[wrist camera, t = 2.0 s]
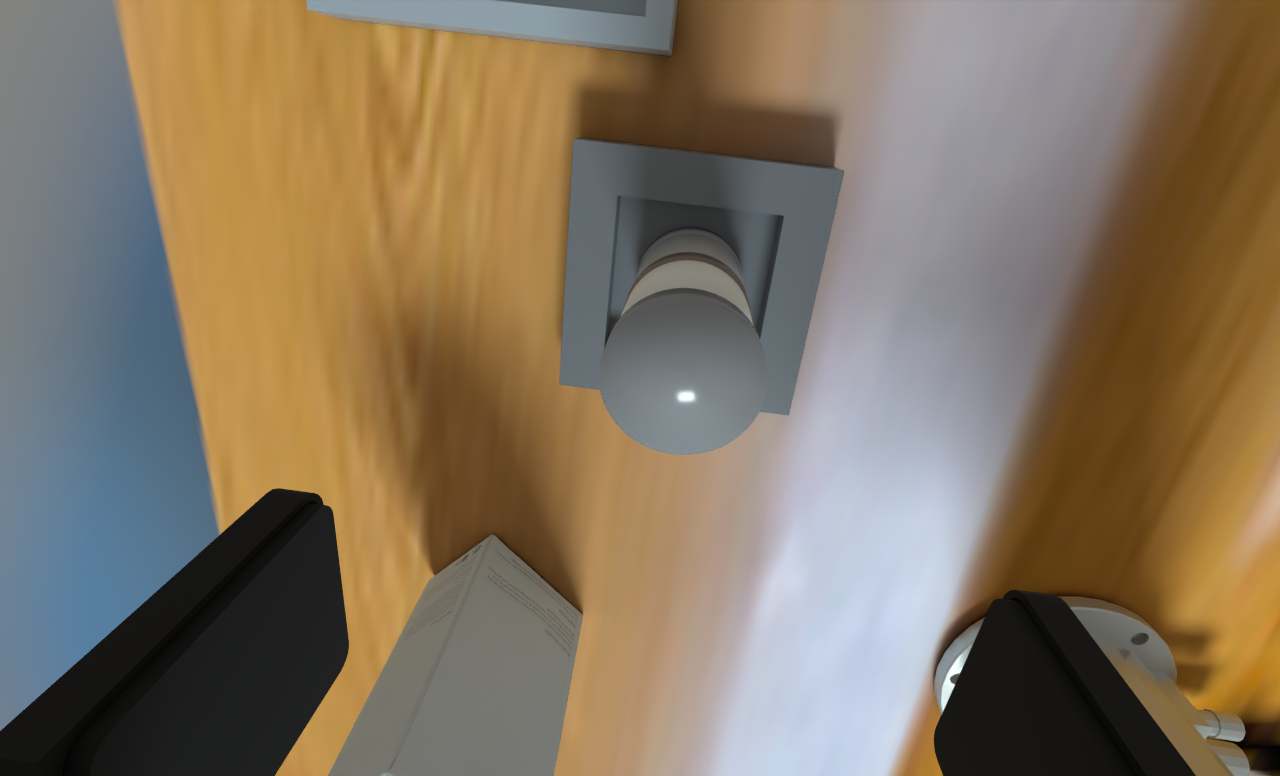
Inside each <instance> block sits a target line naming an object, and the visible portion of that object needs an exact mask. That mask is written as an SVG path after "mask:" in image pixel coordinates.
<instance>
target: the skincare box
mask: <svg viewBox="0 0 1280 776" xmlns="http://www.w3.org/2000/svg"><path fill="white" fill-rule="evenodd" d="M582 619H583V615H582V614H581V613H580V612H579V611H578V610H577V609H576V608H575V607H573V606H572V605H571V604H570V603H569V602H568V601H567V600H566V599H564V598H563V597H562V596H561V595H560V594H559V593H558V592H557V591H555V590H554V589H553V588H552V587H551V586H550V585H549V584H548V583H547V582H546V581H544V580H543V579H542V578H541V577H540V576H539V575H538V574H537V573H536V572H535V571H533V570H532V569H531V568H530V567H529V566H528V565H527V564H526V563H525V562H523V561H522V560H521V559H520V558H519V557H518V556H517V555H515V554H514V553H513V552H512V551H511V550H510V549H509V548H508V547H506V546H505V545H504V544H503V543H502V542H501V541H500V540H499V539H498V538H497V537H496V536H495V535H490V536H489V537H488V538H486V539H485V540H483V541H482V542H480V543H479V544H478V545H477V546H475V547H474V548H472V549H471V550H470V551H468V552H467V553H466V554H464V555H463V556H461V557H460V558H458V559H457V560H455V561H454V562H453V563H451V564H450V565H449V566H447V567H446V568H444V569H443V570H442V571H440V572H439V573H437V574H436V575H435V576H434V577H433V578H432V579H430V580H429V582H428V583H427V585H426V587H425V589H424V591H423V593H422V595H421V597H420V598H419V600H418V602H417V604H416V606H415V608H414V610H413V612H412V614H411V616H410V618H409V620H408V622H407V623H406V625H405V627H404V629H403V631H402V633H401V635H400V637H399V639H398V641H397V643H396V645H395V647H394V649H393V651H392V653H391V655H390V657H389V659H388V661H387V663H386V664H385V666H384V668H383V670H382V672H381V674H380V676H379V678H378V680H377V682H376V684H375V686H374V687H373V689H372V691H371V693H370V695H369V697H368V699H367V701H366V703H365V705H364V707H363V709H362V711H361V713H360V714H359V716H358V718H357V720H356V722H355V724H354V726H353V728H352V730H351V732H350V734H349V736H348V738H347V740H346V741H345V743H344V745H343V747H342V749H341V751H340V753H339V755H338V757H337V759H336V761H335V763H334V765H333V767H332V769H331V771H330V773H329V775H328V776H554V770H555V765H556V760H557V755H558V750H559V744H560V739H561V733H562V728H563V722H564V717H565V711H566V706H567V700H568V695H569V689H570V684H571V679H572V672H573V667H574V662H575V656H576V651H577V645H578V640H579V634H580V629H581V624H582Z"/></svg>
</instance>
